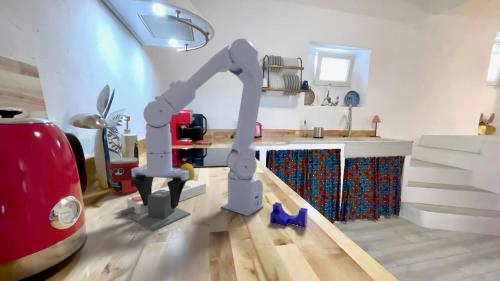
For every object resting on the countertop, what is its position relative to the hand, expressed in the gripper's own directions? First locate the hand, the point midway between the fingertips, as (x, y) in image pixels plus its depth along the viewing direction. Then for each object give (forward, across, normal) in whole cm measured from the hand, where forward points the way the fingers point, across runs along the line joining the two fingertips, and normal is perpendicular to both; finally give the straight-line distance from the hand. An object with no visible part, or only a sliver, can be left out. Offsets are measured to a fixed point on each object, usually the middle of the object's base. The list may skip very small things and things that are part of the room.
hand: (161, 205), depth 54 cm
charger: (+2, 0, 0) cm, 2 cm away
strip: (+3, +5, -9) cm, 11 cm away
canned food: (+3, +22, -14) cm, 26 cm away
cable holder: (+3, -32, -4) cm, 32 cm away
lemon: (+3, +7, -26) cm, 27 cm away
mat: (+3, 0, 0) cm, 3 cm away
